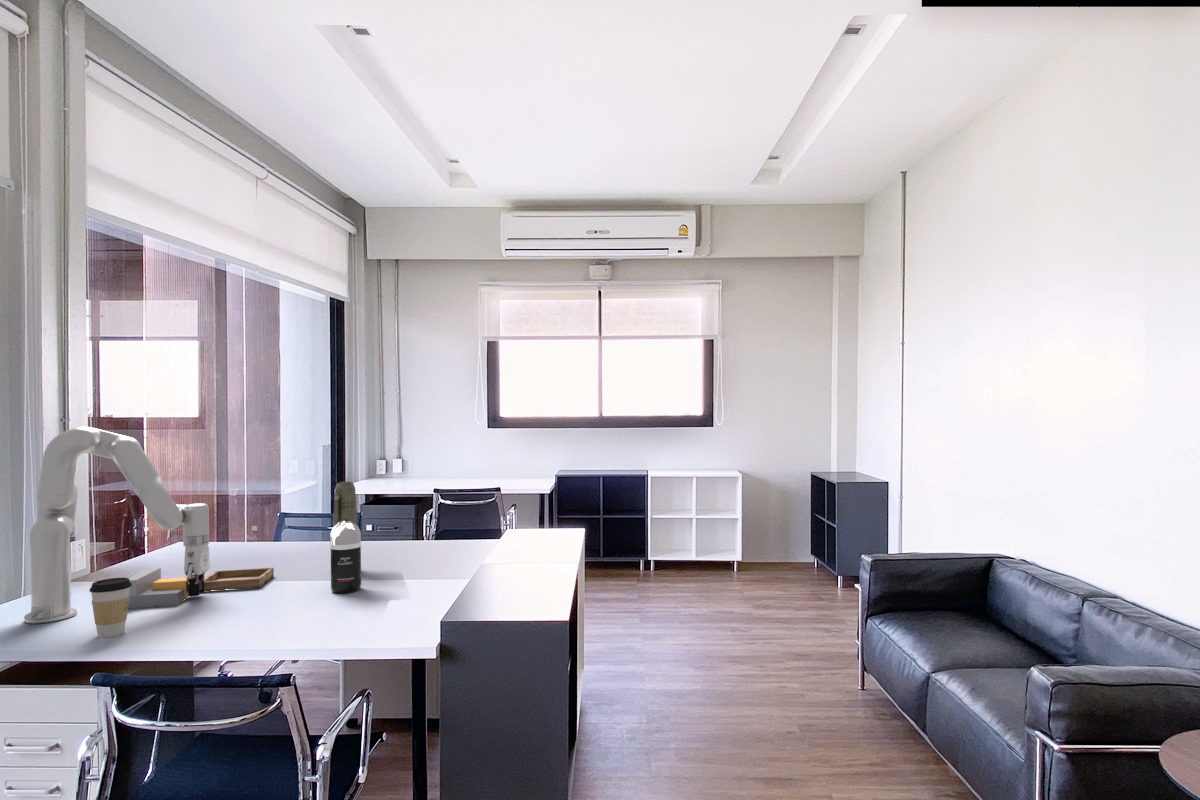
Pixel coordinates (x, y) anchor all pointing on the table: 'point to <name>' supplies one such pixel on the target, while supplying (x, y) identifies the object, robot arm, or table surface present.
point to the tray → (238, 579)
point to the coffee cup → (110, 605)
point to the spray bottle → (345, 557)
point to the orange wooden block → (174, 585)
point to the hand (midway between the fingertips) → (196, 593)
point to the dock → (151, 591)
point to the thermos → (344, 503)
